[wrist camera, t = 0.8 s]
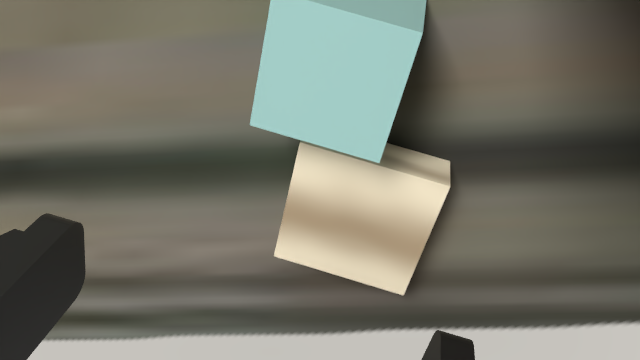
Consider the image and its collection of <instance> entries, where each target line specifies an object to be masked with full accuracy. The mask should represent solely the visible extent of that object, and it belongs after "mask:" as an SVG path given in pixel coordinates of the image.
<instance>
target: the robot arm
mask: <svg viewBox="0 0 640 360" xmlns="http://www.w3.org/2000/svg"><path fill="white" fill-rule="evenodd" d="M84 279H85V250H84V229H83V226H82V224H81V223H79V222H75V221H72V220H68V219H65V218H62V217H58V216H55V215H52V214H44V215H42V216H40V217H39V218H38V219H37V220H36V221H35V222H34V223H33V224H32V225H30V226H29V227H28V228H27V229H26V230H25V231H24V232H23V231H20V230H17V229H13V230H11V231H9V232H7V233H5V234H3V235H0V360H27V359H28V357H29V356H30V355H31V354H32V352H33V351H34V350H35V349H36V347H37V346H38V345H39V344H40V343H41V341H42V340H43V339H44V338H45V336H46V335H47V334H48V333H49V331H50V330H51V329H52V328H53V326H54V325H55V324H56V323H57V322H58V320H59V319H60V318H61V317H62V315H63V314H64V313H65V312H66V310H67V309H68V308H69V307H70V306H71V304H72V303H73V302H74V301H75V299H76V298H77V296H78V294H79V293H80V290H81V288H82V286H83V283H84ZM422 360H475V356H474V345H473V342H472V340H470V339H466V338H463V337H460V336H456V335H453V334H449V333H446V332H443V331H439V330H437V331H436V332H435V333H434V335H433V337H432V339H431V341H430V343H429V346H428V348H427V349H426V351H425V354H424V356H423V358H422Z"/></svg>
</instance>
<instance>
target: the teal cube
mask: <svg viewBox="0 0 640 360" xmlns="http://www.w3.org/2000/svg"><path fill="white" fill-rule="evenodd" d="M425 9H426V0H271V2H270V8H269V14H268V20H267V26H266V32H265V38H264V44H263V50H262V56H261V62H260V68H259V73H258V79H257V85H256V91H255V97H254V103H253V109H252V115H251V121H250V125H251V126H254V127H258V128H261V129H265V130H268V131H271V132H275V133H278V134H282V135H285V136H288V137H292V138H295V139H299V140H302V141H305V142H309V143H312V144H316V145H319V146H322V147H326V148H329V149H333V150H336V151H339V152H343V153H346V154H350V155H353V156H356V157H360V158H363V159H367V160H370V161H373V162H377V163H380V160H381V157H382V154H383V151H384V148H385V145H386V142H387V139H388V136H389V133H390V130H391V127H392V124H393V121H394V118H395V115H396V112H397V109H398V106H399V103H400V100H401V97H402V94H403V91H404V88H405V85H406V82H407V79H408V76H409V73H410V70H411V67H412V64H413V61H414V58H415V55H416V52H417V49H418V46H419V43H420V40H421V37H422V34H423V28H424V19H425Z"/></svg>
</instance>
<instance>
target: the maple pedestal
mask: <svg viewBox="0 0 640 360" xmlns="http://www.w3.org/2000/svg"><path fill="white" fill-rule="evenodd" d="M449 189H450V161H447V160H444V159H440V158H437V157H434V156H430V155H427V154H423V153H420V152H416V151H413V150H409V149H406V148H403V147H399V146H396V145H392V144H389V143H386V145H385V148H384V151H383V154H382V157H381V160H380V163H377V162H373V161H370V160H367V159H363V158H360V157H356V156H353V155H350V154H346V153H343V152H339V151H336V150H333V149H329V148H326V147H322V146H319V145H316V144H312V143H309V142H305V141H302V140H301V141H300V144H299V149H298V153H297V157H296V162H295V166H294V171H293V175H292V179H291V184H290V188H289V192H288V197H287V201H286V205H285V210H284V214H283V219H282V223H281V227H280V232H279V236H278V240H277V245H276V249H275V253H274V256H275V257H278V258H282V259H285V260H288V261H292V262H295V263H298V264H301V265H305V266H308V267H311V268H315V269H318V270H321V271H324V272H328V273H331V274H334V275H338V276H341V277H344V278H348V279H351V280H354V281H357V282H361V283H364V284H367V285H371V286H374V287H377V288H381V289H384V290H387V291H390V292H394V293H397V294H400V295H404V293H405V291H406V289H407V286H408V284H409V282H410V279H411V277H412V275H413V272H414V270H415V268H416V265H417V263H418V261H419V258H420V256H421V254H422V251H423V249H424V247H425V244H426V242H427V240H428V237H429V235H430V233H431V230H432V228H433V226H434V224H435V221H436V219H437V217H438V214H439V212H440V210H441V207H442V205H443V203H444V200H445V198H446V196H447V193H448V191H449Z"/></svg>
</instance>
